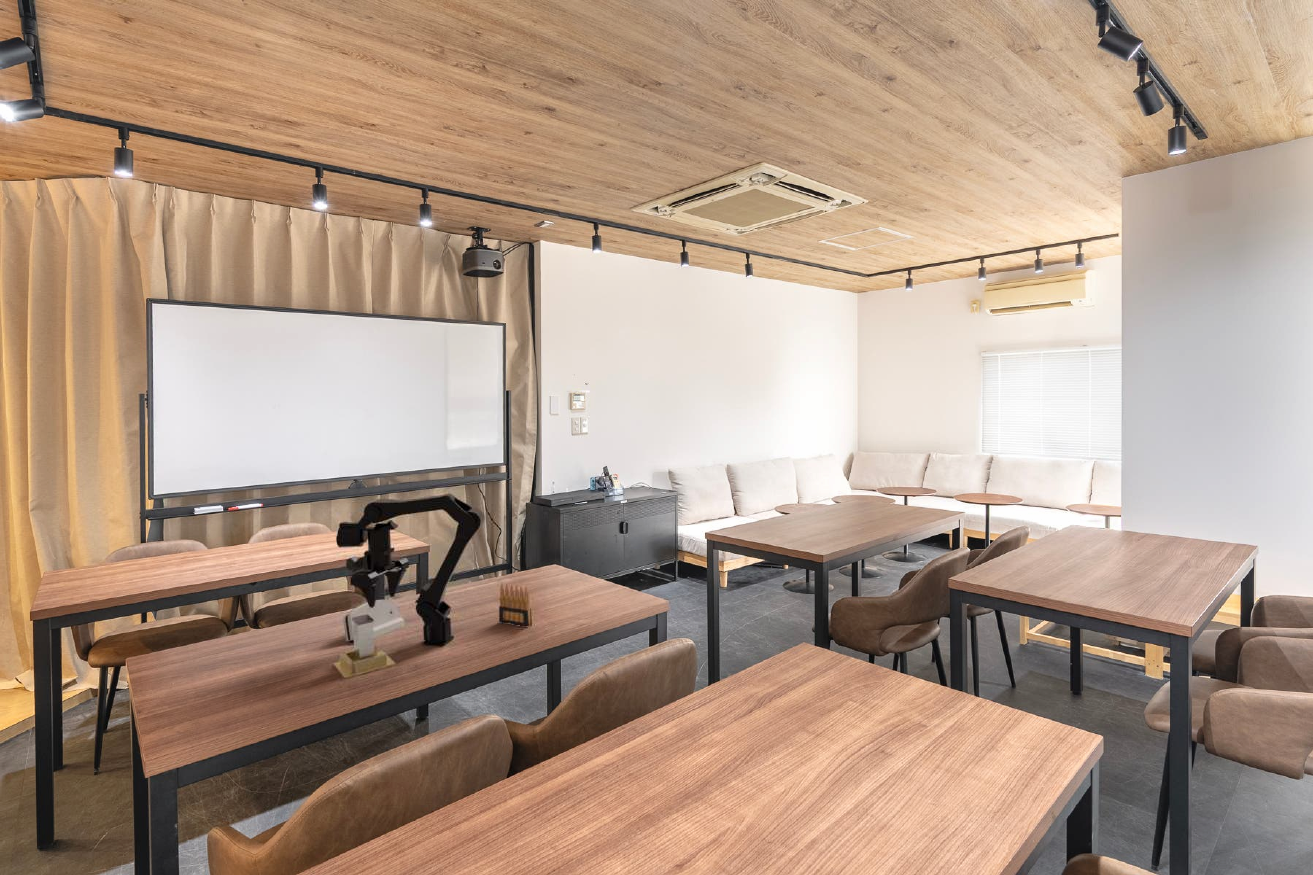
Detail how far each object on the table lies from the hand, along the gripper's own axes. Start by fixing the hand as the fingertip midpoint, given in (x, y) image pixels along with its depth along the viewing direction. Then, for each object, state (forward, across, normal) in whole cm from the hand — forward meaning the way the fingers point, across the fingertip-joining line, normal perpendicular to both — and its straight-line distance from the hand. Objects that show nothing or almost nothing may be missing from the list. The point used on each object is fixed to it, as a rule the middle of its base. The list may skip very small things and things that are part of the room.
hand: (382, 601), depth 177 cm
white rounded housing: (+12, -8, -9) cm, 17 cm away
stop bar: (+12, +13, +3) cm, 18 cm away
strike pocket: (+12, +13, +3) cm, 18 cm away
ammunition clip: (+12, -20, +30) cm, 38 cm away
